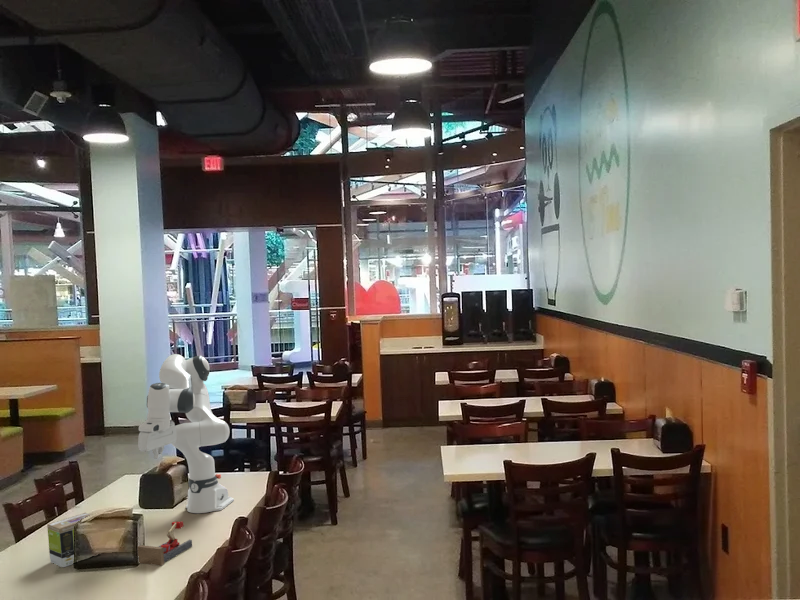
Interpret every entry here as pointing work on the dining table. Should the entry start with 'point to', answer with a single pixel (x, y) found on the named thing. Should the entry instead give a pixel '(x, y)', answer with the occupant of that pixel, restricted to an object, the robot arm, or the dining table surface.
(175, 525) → the red beige jointed figure
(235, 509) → the dining table surface
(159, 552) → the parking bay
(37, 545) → the dining table surface
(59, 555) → the tea box
